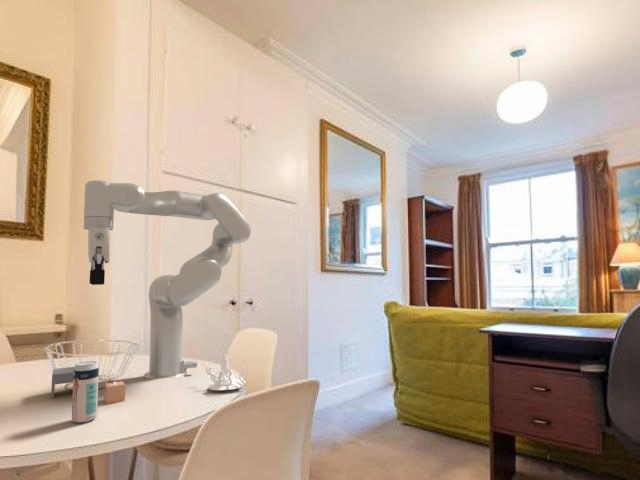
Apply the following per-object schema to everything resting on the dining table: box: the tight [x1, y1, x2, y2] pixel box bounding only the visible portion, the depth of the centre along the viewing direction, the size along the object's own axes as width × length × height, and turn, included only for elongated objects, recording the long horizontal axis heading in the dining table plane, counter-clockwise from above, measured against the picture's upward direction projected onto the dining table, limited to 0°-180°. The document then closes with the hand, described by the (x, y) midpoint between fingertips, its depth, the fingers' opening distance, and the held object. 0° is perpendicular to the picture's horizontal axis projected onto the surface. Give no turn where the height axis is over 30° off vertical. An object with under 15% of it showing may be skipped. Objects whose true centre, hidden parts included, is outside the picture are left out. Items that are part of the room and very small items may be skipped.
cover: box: [50, 366, 75, 400], centre depth 107 cm, size 7×7×6 cm
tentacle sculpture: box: [203, 352, 247, 391], centre depth 113 cm, size 9×12×9 cm
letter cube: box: [104, 380, 126, 405], centre depth 101 cm, size 4×4×4 cm
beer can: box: [71, 360, 100, 424], centre depth 88 cm, size 5×5×12 cm
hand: (96, 284), depth 115 cm, fingers open, 9 cm apart
